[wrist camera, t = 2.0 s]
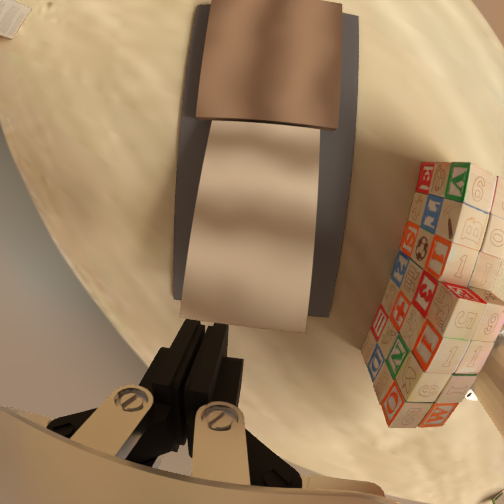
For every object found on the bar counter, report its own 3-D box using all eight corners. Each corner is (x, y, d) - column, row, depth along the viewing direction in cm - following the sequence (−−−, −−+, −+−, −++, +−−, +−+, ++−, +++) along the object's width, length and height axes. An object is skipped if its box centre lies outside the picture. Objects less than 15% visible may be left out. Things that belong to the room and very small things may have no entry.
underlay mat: (357, 18, 22) (358, 16, 21) (327, 315, 30) (328, 317, 30) (198, 7, 23) (197, 5, 22) (175, 297, 31) (173, 299, 31)
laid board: (338, 12, 21) (342, 3, 19) (333, 131, 25) (337, 128, 23) (216, 4, 22) (212, -5, 20) (201, 120, 26) (195, 116, 24)
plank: (215, 132, 26) (212, 120, 24) (316, 141, 25) (320, 129, 23) (186, 315, 23) (179, 317, 21) (301, 330, 22) (305, 332, 21)
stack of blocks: (419, 160, 25) (495, 160, 13) (466, 179, 25) (545, 192, 13) (359, 351, 31) (387, 430, 19) (405, 357, 31) (443, 429, 19)
